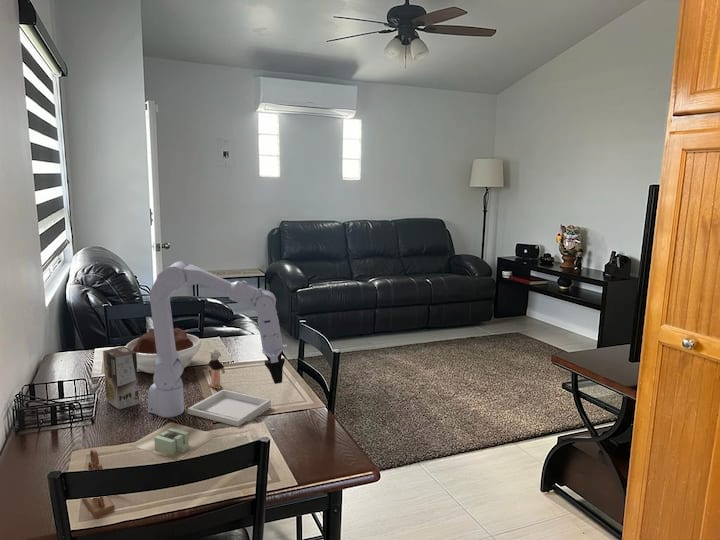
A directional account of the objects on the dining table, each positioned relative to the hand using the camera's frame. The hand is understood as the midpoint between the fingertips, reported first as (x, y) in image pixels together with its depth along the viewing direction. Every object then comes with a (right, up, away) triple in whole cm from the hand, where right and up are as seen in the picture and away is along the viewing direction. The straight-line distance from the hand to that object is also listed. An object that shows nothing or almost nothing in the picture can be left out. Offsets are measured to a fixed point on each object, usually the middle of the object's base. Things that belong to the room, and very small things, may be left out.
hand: (277, 378), depth 151 cm
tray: (-14, -10, +1) cm, 17 cm away
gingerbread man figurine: (-31, -18, -42) cm, 55 cm away
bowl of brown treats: (-46, -4, +35) cm, 57 cm away
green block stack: (-23, -13, -21) cm, 34 cm away
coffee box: (-48, -9, +6) cm, 49 cm away
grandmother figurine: (-23, -7, +19) cm, 31 cm away
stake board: (-24, -13, -17) cm, 32 cm away
